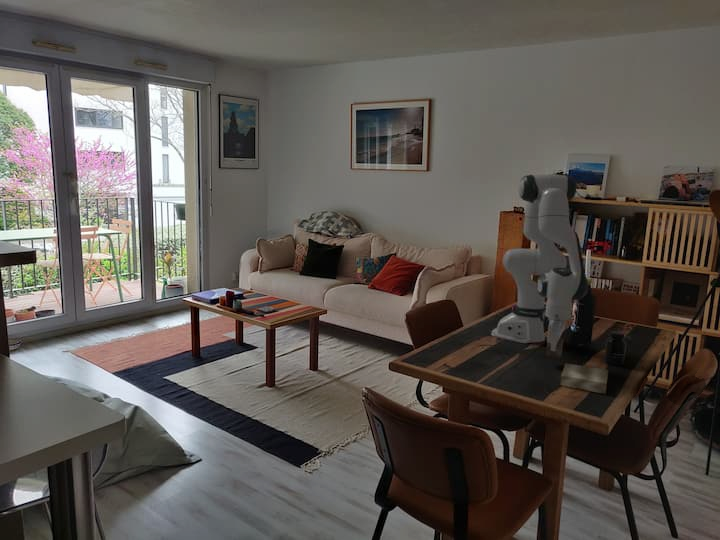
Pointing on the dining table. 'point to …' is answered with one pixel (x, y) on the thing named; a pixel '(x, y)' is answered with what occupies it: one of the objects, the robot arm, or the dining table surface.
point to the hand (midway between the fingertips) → (554, 348)
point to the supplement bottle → (615, 349)
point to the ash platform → (584, 378)
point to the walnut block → (558, 349)
